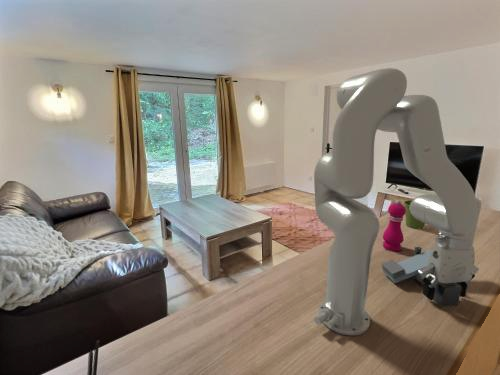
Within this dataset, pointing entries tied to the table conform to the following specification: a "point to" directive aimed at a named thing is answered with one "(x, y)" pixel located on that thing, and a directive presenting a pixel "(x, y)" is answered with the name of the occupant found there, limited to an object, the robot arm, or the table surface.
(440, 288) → the iron block
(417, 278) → the stand
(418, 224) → the plant pot
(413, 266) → the beam
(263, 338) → the table surface
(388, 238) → the pepper mill
